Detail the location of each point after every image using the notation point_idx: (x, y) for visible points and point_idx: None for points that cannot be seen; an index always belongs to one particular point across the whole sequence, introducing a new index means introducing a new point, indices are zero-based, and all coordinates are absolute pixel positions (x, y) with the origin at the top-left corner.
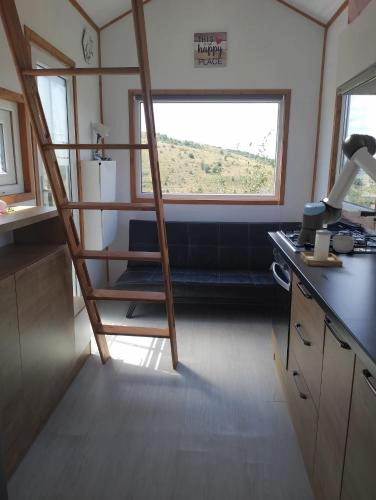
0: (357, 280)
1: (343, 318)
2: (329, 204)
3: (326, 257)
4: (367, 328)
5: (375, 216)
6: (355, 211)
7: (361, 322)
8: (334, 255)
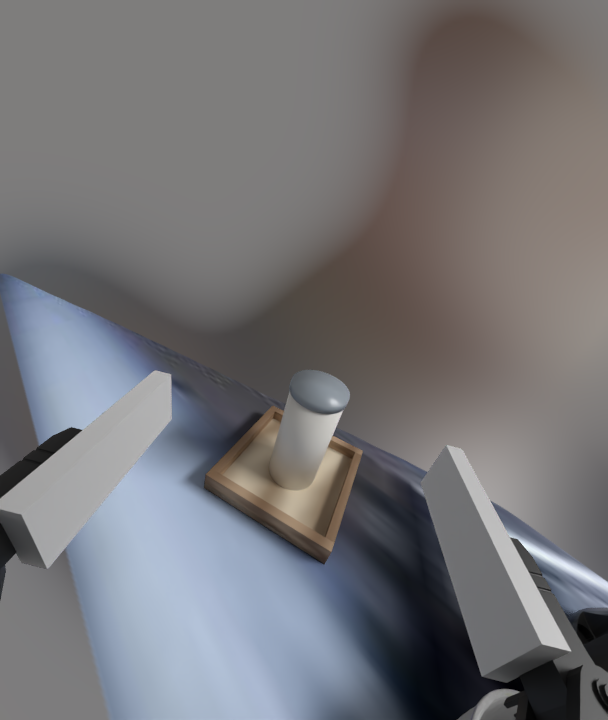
0: (89, 417)
1: (52, 296)
2: None
3: (271, 460)
4: (6, 290)
5: (82, 438)
6: (479, 515)
7: (20, 296)
8: (293, 524)
